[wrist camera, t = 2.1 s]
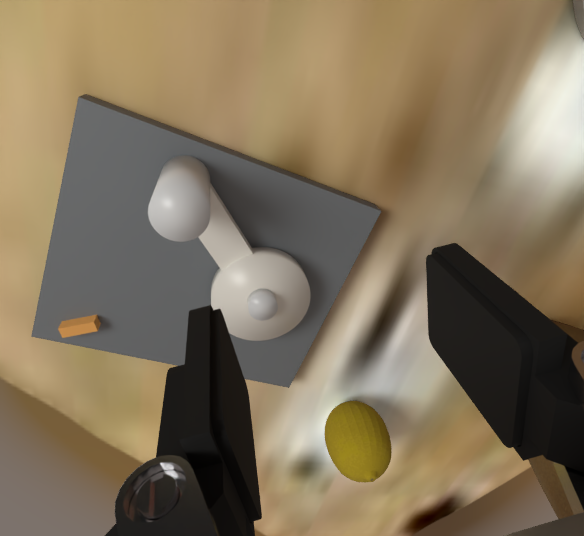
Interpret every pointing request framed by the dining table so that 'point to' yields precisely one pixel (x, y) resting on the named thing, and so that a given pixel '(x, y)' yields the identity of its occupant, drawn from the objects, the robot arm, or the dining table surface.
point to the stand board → (180, 243)
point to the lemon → (358, 441)
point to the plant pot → (546, 467)
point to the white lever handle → (230, 255)
